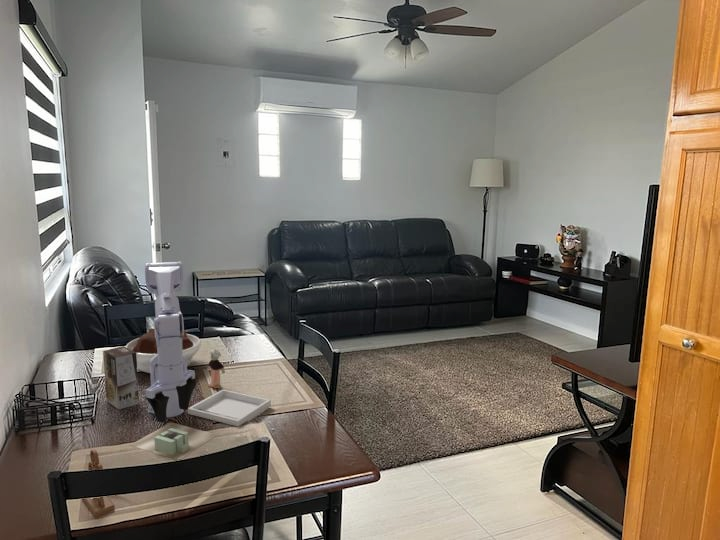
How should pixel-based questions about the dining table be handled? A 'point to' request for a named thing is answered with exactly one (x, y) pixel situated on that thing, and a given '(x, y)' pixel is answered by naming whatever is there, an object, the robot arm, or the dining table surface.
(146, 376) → the dining table surface
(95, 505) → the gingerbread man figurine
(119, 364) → the coffee box
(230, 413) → the tray
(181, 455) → the board
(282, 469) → the dining table surface
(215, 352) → the grandmother figurine
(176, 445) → the green block stack
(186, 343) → the bowl of brown treats
